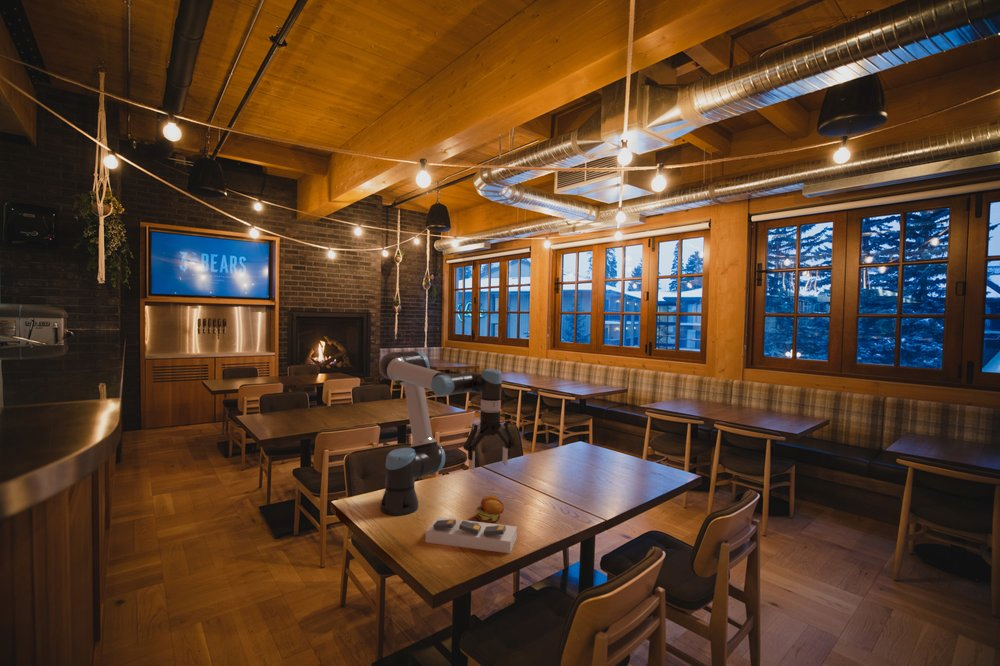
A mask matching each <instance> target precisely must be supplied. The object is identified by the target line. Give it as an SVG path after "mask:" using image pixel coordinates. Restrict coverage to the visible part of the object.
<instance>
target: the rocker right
mask: <svg viewBox="0 0 1000 666" xmlns="http://www.w3.org/2000/svg"><path fill="white" fill-rule="evenodd" d="M505 530H506V527H505V526H489V527H486V528H485V530H484V536H487V535H504V532H505Z"/></svg>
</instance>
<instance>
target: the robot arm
mask: <svg viewBox="0 0 1000 666" xmlns="http://www.w3.org/2000/svg"><path fill="white" fill-rule="evenodd" d="M378 369H379V373H380V375H382V376H383V377H384V378H386V379H388V380H391V381H394V382H396V381H399V385H401V386H402V387H403V389H404V395H405V400H406V406H407V412H408V418H409V424H410V430H411V437H412V442H411V445H410V446H409V447H400V448H395V449H393V450H391V451H390V452H388V454H387V455H386V459H385V464H384V465H385V486H384V487H385V488H384V489H385V491H384V493H383V496H382V498H381V502H380V511H381V512H382V513H383V514H386V515H391V516H403V515H409V514H412V513H414V512H416V511H417V510H418V509H419V500H418V496H417V492H416V489H415V480H416V479H421V478H422V477H427V476H431V475H435V474H436V473H439V472H441V470H443V467H444V466H445V464H446V463H445V462H446V452H445V449H443V447H442V445H439V444H438V440H437V439H435V438H434V436H433V432H432V431H433V430H432V425H431V419H430V414H429V413H430V412H429V407H428V402H427V395H426V390H425V389H427V390H430V391H432V393H433V394H434V395H436V396H438V397H440V396H441V397H446V396H452V395H457V394H465V393H467V394H468V393H478V394H480V410H481V411H480V417H479V418H480V419H479V420H480V422H479V424H475V423H472V425H471V431H469V434H468V437H467V438H466V440H465V443H464V445H463V449H464V450H465V451H467V459H468V460H469V468H470V469H471V470H475V463H476V462H475V459H476V451H474V450H475V449H476V448H477V446H478V445H479V444H480V443H481V441H482V440H483V439H484V438H485V437H489V436H495V435H496V437H497V438H498V439H499V440H500V441H501V443H502V444H503V445H504V446H502V460H501V461H502V462H501V463H502V464H503V465H504V466H508V457H510V452H511V451H510V450H511V449H512V447H514V446H515V441H514V440H513V437H512V434H511V432H510V430H509V425H508V422H506V421H502V422H501V411H500V410H501V409H502V406H501V403H502V385H503V384H502V383H503V380H502V371H501V370H500V369H493V368H485V369H482V371H481V372H480V373H478V372H473V371H470V370H469V371H462V372H460V373H453V374H452V373H446V372H442V371H438V370H436V369H431V366H430V361H429V358H428V357H427V356H426V354H424V353H423V352H422V351H414V350H411V351H392V352H388V353H387V354H384V355H383V356H382V357H381V359H380V361H379V364H378ZM500 428H501V429H502V430H503V433H504V434H505V435H503V434H502V433H501V432H500ZM479 429H480V430H479ZM478 431H479V432H478ZM477 432H478V434H477ZM504 436H505V437H506V438H505V437H504Z"/></svg>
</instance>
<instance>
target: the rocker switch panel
mask: <svg viewBox="0 0 1000 666" xmlns="http://www.w3.org/2000/svg"><path fill="white" fill-rule="evenodd" d="M439 520H456V524H455V525H454V527H453V528H448V529H434V526H433V525H434V524H435V523H436V522H437V521H439ZM462 521H467V522H470V523H473V524H476V525H480V526H481V530H480V532H479V533H478V535H477V534H473V533H470V532H467V531H464V530H460V529H459V526H460V524H461V523H462ZM489 526H505V527H506V530H505V532H504V535H487V536H484V530H485V528H486V527H489ZM517 532H518V526H515V525H507V524H499V523H493V522H490V523H487V522H482V521H474V520H466V519H456V518H448V517H442V516H438V517H436V518H435V519H434V521H433V522H432V523H431V524H430V525H429V526H428V528H427V529H425V543H428V544H437V545H444V546H452V547H458V548H459V547H461V548H466V549H474V550H481V551H482V550H483V551H488V552H497V553H503V554H511V552H512V549H513V548H514V545H515V542H516V540H517V537H518V533H517Z"/></svg>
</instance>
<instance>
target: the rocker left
mask: <svg viewBox="0 0 1000 666" xmlns="http://www.w3.org/2000/svg"><path fill="white" fill-rule="evenodd" d="M455 524H456V520H439V521H437V522H436V523H435V524H434V525H433V526H434V529H448V528H453V527H454V525H455Z"/></svg>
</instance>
